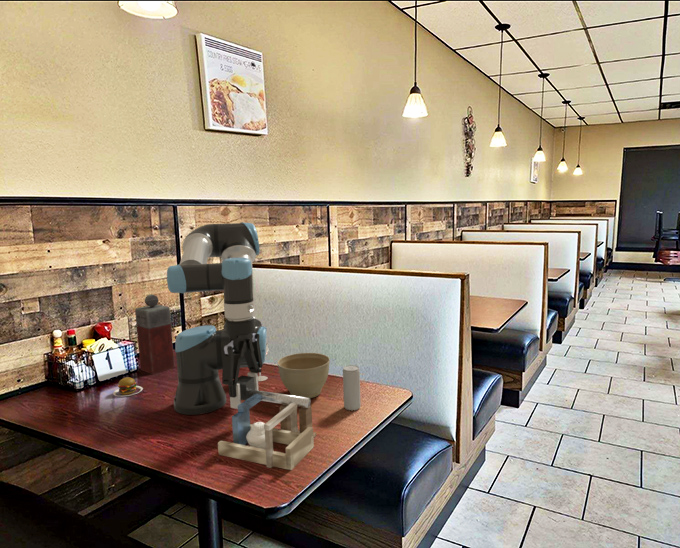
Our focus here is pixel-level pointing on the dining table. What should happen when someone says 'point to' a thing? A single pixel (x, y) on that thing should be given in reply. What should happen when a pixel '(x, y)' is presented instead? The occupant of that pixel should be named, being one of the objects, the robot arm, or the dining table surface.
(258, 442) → the white lumpy mound
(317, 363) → the planter bowl
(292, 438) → the beige open frame
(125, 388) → the hamburger
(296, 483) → the dining table surface
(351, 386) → the beverage can
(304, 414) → the cream cubby shelf
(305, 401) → the hammer
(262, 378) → the wineglass
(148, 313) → the red decanter
